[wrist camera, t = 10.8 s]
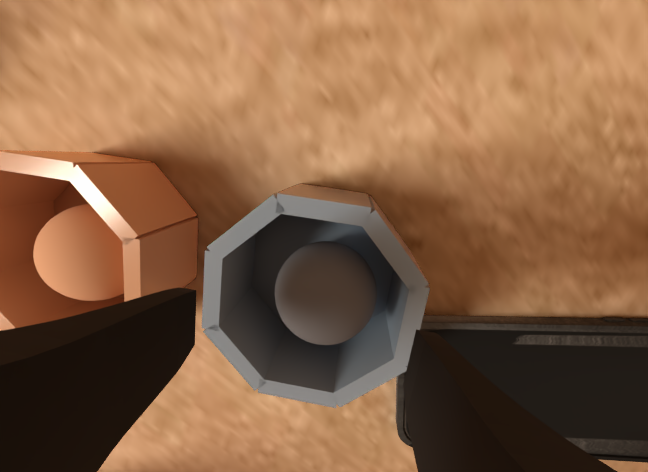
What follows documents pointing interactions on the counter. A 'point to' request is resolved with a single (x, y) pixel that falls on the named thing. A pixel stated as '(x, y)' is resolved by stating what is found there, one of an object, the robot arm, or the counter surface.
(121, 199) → the terracotta octagonal bowl
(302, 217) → the slate cup
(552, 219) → the counter surface
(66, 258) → the terracotta ball
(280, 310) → the charcoal ball
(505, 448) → the robot arm
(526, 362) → the phone
